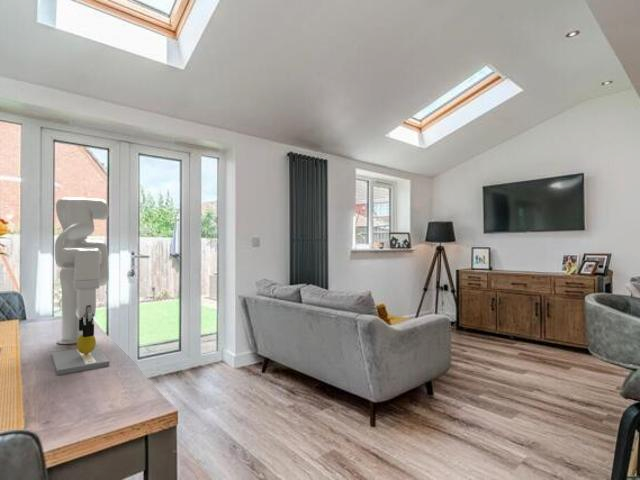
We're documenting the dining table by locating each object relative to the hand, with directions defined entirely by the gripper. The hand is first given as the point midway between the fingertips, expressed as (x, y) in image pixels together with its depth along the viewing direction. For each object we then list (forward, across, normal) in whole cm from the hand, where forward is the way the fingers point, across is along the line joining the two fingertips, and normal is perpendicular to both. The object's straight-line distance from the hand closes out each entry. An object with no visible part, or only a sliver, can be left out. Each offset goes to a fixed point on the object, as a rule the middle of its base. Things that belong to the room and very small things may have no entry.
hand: (86, 333), depth 127 cm
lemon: (+8, +1, 0) cm, 8 cm away
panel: (+9, +1, -2) cm, 9 cm away
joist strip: (+8, +1, 0) cm, 8 cm away
